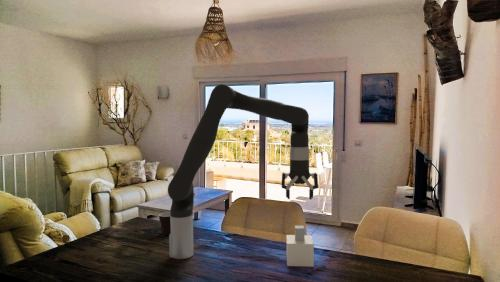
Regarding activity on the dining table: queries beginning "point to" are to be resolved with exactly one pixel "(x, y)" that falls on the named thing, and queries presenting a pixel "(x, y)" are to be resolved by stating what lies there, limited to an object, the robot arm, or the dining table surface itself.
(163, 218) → the coffee mug
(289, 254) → the cream open-backed crate
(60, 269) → the dining table surface
